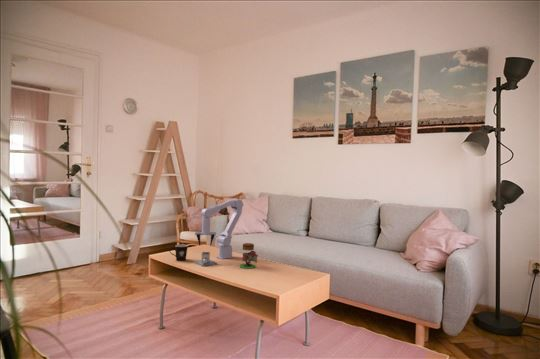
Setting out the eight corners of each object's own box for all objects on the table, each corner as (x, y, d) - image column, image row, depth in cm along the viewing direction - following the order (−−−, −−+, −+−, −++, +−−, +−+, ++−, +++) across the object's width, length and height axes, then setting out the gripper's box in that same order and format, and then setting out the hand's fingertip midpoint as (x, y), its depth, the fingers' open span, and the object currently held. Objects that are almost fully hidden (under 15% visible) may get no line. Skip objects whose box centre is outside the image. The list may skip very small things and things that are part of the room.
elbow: (201, 260, 246) (202, 252, 245) (209, 260, 246) (209, 252, 246) (200, 264, 236) (201, 255, 236) (209, 264, 237) (209, 255, 237)
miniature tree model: (255, 269, 232) (256, 246, 231) (236, 268, 234) (237, 245, 234) (259, 265, 243) (260, 243, 243) (241, 263, 246) (242, 241, 245)
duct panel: (208, 260, 251) (208, 254, 251) (217, 264, 242) (217, 258, 242) (194, 262, 244) (194, 256, 244) (202, 266, 235) (202, 260, 235)
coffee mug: (189, 258, 254) (189, 244, 254) (184, 261, 246) (185, 247, 245) (173, 257, 255) (173, 243, 255) (168, 260, 247) (168, 246, 246)
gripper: (195, 226, 246) (194, 246, 247) (216, 227, 249) (215, 246, 249) (195, 225, 253) (194, 244, 254) (216, 225, 256) (215, 244, 256)
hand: (205, 245), depth 252 cm, fingers open, 7 cm apart
